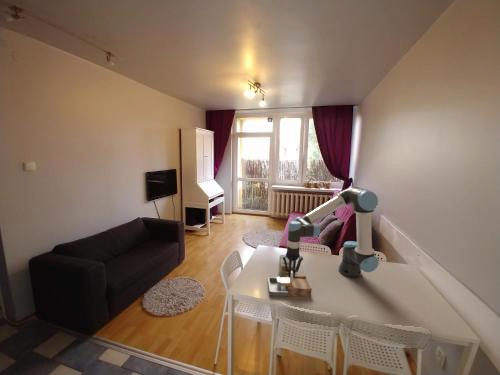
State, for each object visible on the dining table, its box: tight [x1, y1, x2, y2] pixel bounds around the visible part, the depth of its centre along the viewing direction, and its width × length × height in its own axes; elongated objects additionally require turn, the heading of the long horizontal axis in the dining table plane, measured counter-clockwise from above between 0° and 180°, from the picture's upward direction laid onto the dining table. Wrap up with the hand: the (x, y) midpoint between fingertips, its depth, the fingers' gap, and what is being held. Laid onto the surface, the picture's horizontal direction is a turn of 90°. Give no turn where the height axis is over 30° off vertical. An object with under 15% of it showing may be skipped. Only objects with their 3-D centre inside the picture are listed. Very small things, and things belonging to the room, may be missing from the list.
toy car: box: [278, 254, 293, 277], centre depth 164 cm, size 11×25×10 cm, turn 173°
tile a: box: [280, 277, 291, 286], centre depth 142 cm, size 6×6×2 cm
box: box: [267, 276, 289, 298], centre depth 142 cm, size 11×16×3 cm
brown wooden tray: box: [285, 275, 312, 297], centre depth 142 cm, size 14×14×5 cm
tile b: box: [276, 276, 281, 291], centre depth 142 cm, size 6×6×2 cm
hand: (291, 281), depth 142 cm, fingers closed
